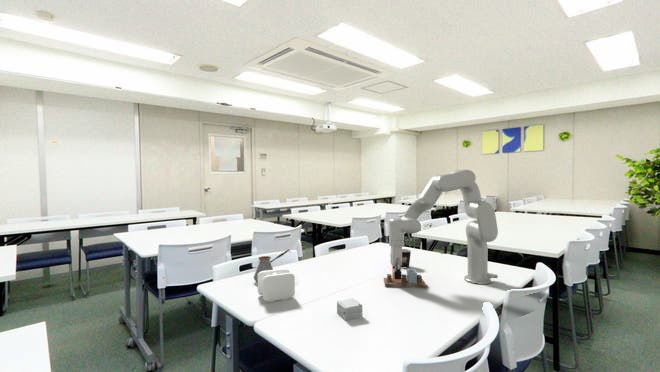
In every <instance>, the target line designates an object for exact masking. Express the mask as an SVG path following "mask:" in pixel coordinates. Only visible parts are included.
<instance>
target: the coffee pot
mask: <svg viewBox="0 0 660 372" xmlns="http://www.w3.org/2000/svg"><path fill="white" fill-rule="evenodd" d="M287 253H290V254H291V253H292V252H291V249H287V250H284V252H282V253H280V254H279V255H277V256H276V257H275V258H273V259H271V258H272V256H270V255H269V256H267V255H266V256H264V255H263V256H259V257H258V260H259V263H258V265H257V268H256V271H255V273H254V274H253V280H254V281H255V282H258V273H259V272H261V271H267V270H274V268H273V266H272V264H271V263H273V262H274V261H275V260H277V259H279V258H281V257H282V256H284V255H285V254H287Z"/></svg>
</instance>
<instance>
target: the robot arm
mask: <svg viewBox="0 0 660 372" xmlns="http://www.w3.org/2000/svg"><path fill="white" fill-rule="evenodd" d="M476 177H477V176H476V174H475V173H474V171H473V170H470V169H455V170H452V171H450V172H449V173H448V174H447V173H446V174H437V175H433V176H432V177H431V178H430V179H429V181H428V182H427V184H426V186H425V187H424V189H423V190H422V192H421V193H420V195H419V196H418V198H417V199H416V200H415V201H414V202H413V203H411V205H410V206H409V207H408V208H407V210H406V211H405V212H404V214H403V215H402V217H401V218H396V217H395V218H391V219H389V220H388V225H389V226H388V242H389V243H388V245H389V247H390V254H391V256H390V261H389V262H390V264H391V266H392V268H395V279H401V272H402V268H401V266H402V249H403V247H405V234H414V235H415V234H417V233H419V232H420V231H421V229H422V225H421V222H420V221H419V220H418V219H419V217H420V216H421V215H422V214H423V213H425V212H426V211H429V210H430V209H432V208H434V206H435V205H436V203H437V201H438V200H439V198H440V197H441V195H442V194H443V193H447V192H453V191H457V190H460V191H461V194H462V199H463V204H464V206H463V207H464V212H465V214H466V216H467V217H469V218H470V219H474V220H471V221H468V222H467V224H466V227H465V234H466V240H467V274H466V275H465V276H464V281H466V280H467V281H466V282H468V281H469V282H468V283H471V282H472V284H475V283H478V284H477V285H489V284H491V283H492V279H498V278H499V277H498V276H499V275H498V274H496V273H495V274H494V273H490V272H489V271H488V267H489V266H488V265H489V263H488V262H489V261H488V258H489V257H488V256H489V254H488V253H489V252H488V251H489V249H488V248H489V246H488V243H491V242H494V241H495V240H496V239H497V237H498V234H499V233H498V229H499V228H498V223H497V216H496V212H495V209H494V206H493V205H492V204H491V203H490V202H488V201H483V199H482V195H481V190H480V188H479V186H478V184H477V182H476V179H477V178H476ZM392 268H391V269H392ZM488 283H489V284H488Z"/></svg>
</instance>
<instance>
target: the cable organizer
mask: <svg viewBox="0 0 660 372" xmlns="http://www.w3.org/2000/svg"><path fill="white" fill-rule="evenodd" d="M295 276H296V275H295V274H294V273H293V272H290V270H289V269H288V268H284V267H283V268H277V269H273V270H267V271H261V272H259V273H258V283H257V294H258V295H259V296H262V298H263V300H264V301H265V302H268V303H271V302H272V301H273V302H277V301H278V300H279V301H280V300H283V301H285V299H286V300H290V299H292V298H293V297H294V296H295V294H296V289H295V288H296V285H295V283H296V281H295V280H296V277H295Z"/></svg>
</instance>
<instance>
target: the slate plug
mask: <svg viewBox="0 0 660 372" xmlns="http://www.w3.org/2000/svg"><path fill="white" fill-rule="evenodd" d="M417 275H418V272H417V271H416V269H415V268H406V276H407V281H408V283H415V284H417Z"/></svg>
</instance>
